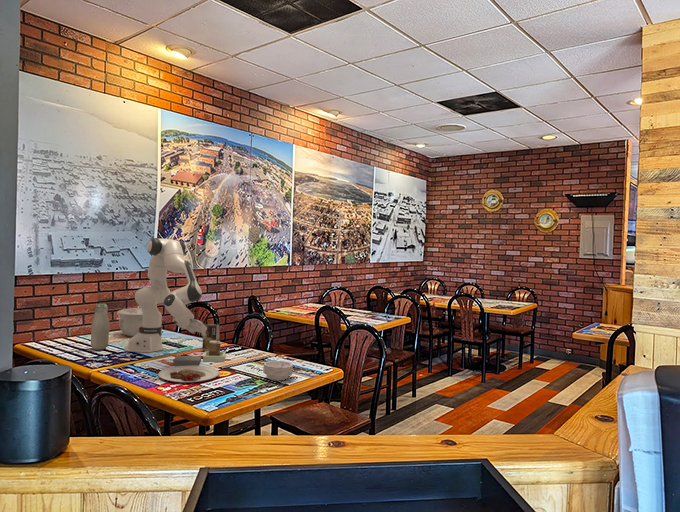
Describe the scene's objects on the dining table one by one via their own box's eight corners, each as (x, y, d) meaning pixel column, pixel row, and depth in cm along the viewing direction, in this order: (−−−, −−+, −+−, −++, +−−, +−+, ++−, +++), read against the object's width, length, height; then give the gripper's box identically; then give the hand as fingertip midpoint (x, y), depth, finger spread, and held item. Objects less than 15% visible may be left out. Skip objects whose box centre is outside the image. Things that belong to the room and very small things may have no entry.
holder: (202, 361, 282) (203, 356, 282) (204, 356, 294) (204, 351, 294) (224, 362, 284) (224, 356, 284) (225, 357, 296) (225, 351, 296)
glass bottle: (93, 352, 290) (94, 305, 289) (88, 348, 298) (90, 302, 297) (110, 350, 297) (112, 304, 296) (105, 347, 304) (107, 302, 303)
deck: (173, 365, 270) (173, 360, 270) (175, 361, 280) (176, 355, 280) (199, 365, 273) (199, 360, 273) (201, 361, 283) (201, 356, 283)
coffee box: (219, 349, 314) (220, 324, 314) (215, 351, 308) (216, 326, 308) (205, 348, 315) (206, 323, 315) (201, 350, 309) (202, 325, 308)
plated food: (197, 365, 274) (197, 359, 274) (231, 377, 255) (231, 371, 255) (146, 375, 251) (146, 368, 250) (179, 389, 232) (180, 382, 231)
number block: (214, 359, 286) (215, 342, 285) (208, 358, 289) (209, 341, 288) (219, 358, 289) (220, 341, 289) (214, 357, 292) (214, 340, 292)
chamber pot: (131, 340, 325) (132, 309, 325) (107, 334, 340) (108, 305, 340) (167, 335, 349) (168, 306, 348) (143, 329, 364) (144, 302, 363)
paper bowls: (296, 376, 262) (296, 361, 262) (286, 384, 248) (287, 368, 247) (269, 373, 266) (269, 358, 266) (258, 380, 251) (259, 365, 251)
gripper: (201, 316, 266) (214, 332, 274) (177, 311, 277) (190, 326, 286) (194, 325, 262) (207, 341, 271) (170, 320, 274) (184, 335, 282)
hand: (198, 333), depth 278 cm, fingers open, 8 cm apart
